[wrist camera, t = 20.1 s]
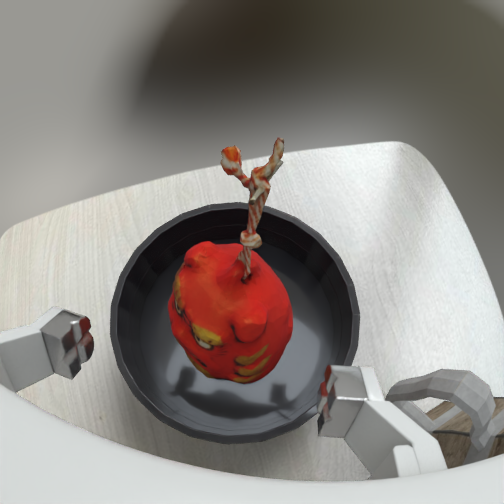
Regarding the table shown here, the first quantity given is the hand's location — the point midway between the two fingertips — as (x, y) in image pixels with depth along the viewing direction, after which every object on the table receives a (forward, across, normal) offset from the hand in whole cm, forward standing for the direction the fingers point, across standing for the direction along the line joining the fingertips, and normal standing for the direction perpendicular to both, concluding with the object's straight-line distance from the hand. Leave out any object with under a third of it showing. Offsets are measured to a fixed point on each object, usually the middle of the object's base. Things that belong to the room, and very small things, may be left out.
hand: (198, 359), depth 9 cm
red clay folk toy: (+10, 0, +6) cm, 12 cm away
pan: (+11, 0, +6) cm, 12 cm away
